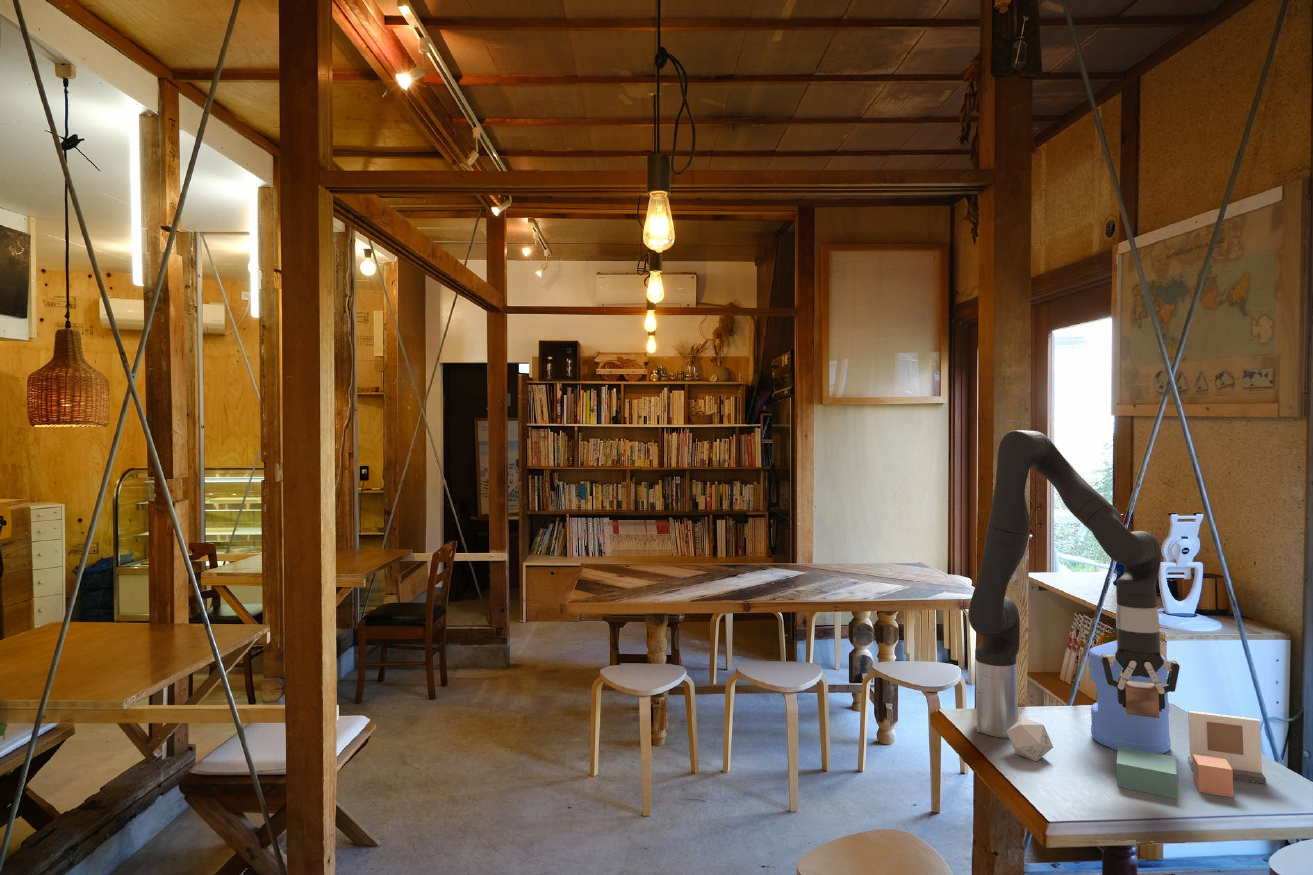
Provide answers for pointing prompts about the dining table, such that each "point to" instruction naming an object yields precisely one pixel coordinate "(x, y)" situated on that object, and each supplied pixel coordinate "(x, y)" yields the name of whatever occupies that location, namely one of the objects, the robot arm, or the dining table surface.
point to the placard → (1228, 742)
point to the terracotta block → (1213, 775)
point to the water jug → (1113, 719)
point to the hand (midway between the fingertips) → (1141, 707)
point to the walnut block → (1142, 699)
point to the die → (1029, 739)
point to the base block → (1147, 772)
